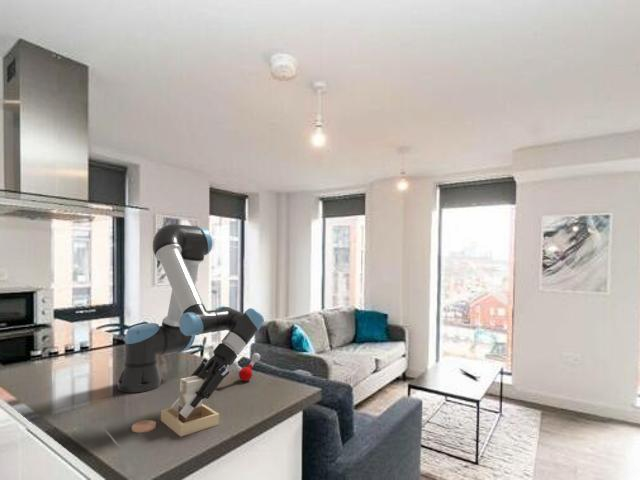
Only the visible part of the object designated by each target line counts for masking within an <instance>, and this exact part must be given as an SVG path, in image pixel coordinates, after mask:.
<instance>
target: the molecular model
mask: <svg viewBox="0 0 640 480" xmlns="http://www.w3.org/2000/svg"><path fill="white" fill-rule="evenodd" d="M260 359H261V354H259V353H258V352H254V353H253V354H252V355H251V361H250V362H249V364H248V365H247V366H244V367H241V366H240V365H239V363H238V361H237V359H235V361H234V362H233V363H232V365H228V368H229V369H230V370H231V371H232V370H235V371H237V372H238V378H239V379H240V381H243V382H248V381H250V380H251V379H252V376H253V371H252V369H253V367H254V365H255V364H256V363H257V362H259V361H260Z"/></svg>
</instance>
